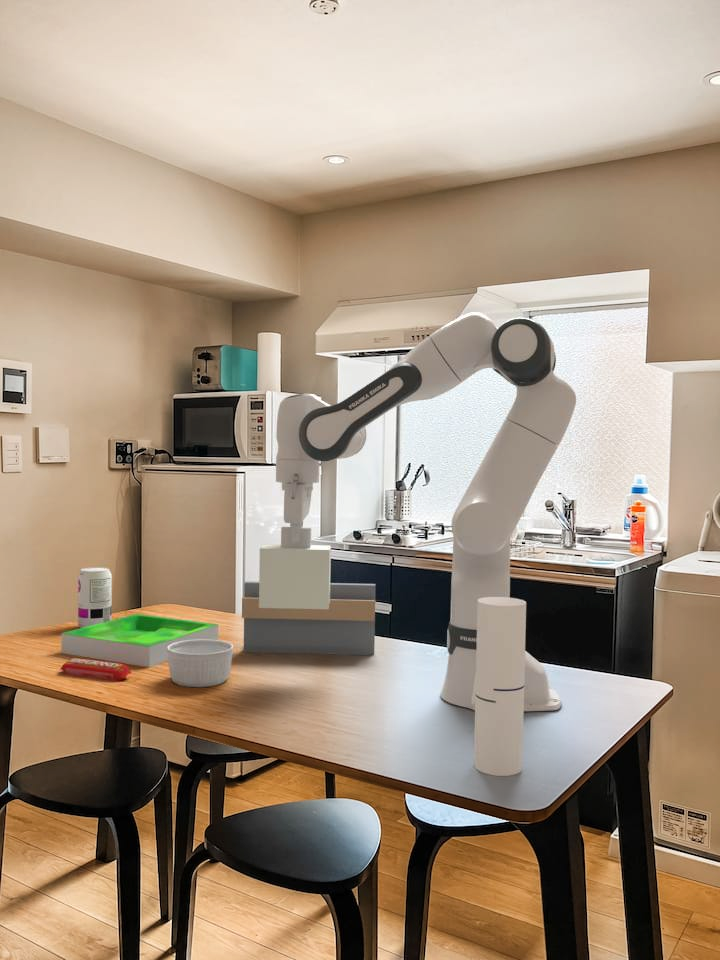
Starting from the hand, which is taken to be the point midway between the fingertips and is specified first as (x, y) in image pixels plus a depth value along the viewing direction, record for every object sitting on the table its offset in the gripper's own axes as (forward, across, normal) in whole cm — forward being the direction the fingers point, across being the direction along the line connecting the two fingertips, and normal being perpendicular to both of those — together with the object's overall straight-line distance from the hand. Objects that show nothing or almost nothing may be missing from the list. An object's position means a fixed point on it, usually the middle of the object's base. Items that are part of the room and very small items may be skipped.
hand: (296, 541), depth 170 cm
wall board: (+28, +20, -2) cm, 35 cm away
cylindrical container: (+28, -46, -34) cm, 64 cm away
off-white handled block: (+13, 0, 0) cm, 13 cm away
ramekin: (+28, -3, +19) cm, 34 cm away
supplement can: (+28, +42, +55) cm, 75 cm away
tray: (+29, +22, +37) cm, 52 cm away
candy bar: (+28, -2, +41) cm, 50 cm away
